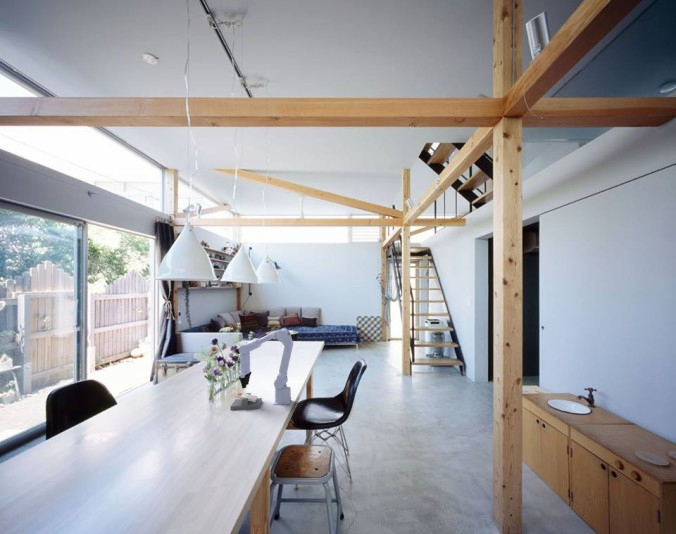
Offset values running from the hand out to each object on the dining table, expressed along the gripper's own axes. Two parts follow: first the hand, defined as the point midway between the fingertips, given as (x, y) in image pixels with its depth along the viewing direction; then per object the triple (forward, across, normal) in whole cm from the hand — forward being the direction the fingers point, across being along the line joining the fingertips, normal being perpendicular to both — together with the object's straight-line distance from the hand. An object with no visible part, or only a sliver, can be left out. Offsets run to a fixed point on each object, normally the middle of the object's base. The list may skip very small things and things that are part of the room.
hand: (245, 386), depth 195 cm
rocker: (+4, +6, +2) cm, 8 cm away
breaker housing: (+9, +6, +2) cm, 11 cm away
